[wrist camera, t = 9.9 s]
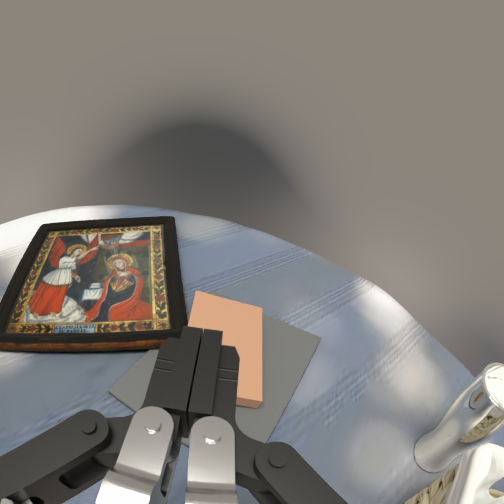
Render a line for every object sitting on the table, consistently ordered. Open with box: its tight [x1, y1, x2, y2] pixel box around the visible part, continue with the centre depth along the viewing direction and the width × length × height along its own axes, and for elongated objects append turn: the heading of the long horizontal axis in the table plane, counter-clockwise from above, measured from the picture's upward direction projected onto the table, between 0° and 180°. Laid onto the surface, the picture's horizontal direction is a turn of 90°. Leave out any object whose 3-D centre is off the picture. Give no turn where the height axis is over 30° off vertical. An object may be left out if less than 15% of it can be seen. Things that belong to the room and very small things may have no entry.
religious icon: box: [0, 216, 188, 351], centre depth 50 cm, size 38×35×3 cm
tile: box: [187, 290, 262, 408], centre depth 40 cm, size 2×10×16 cm
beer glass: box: [414, 363, 504, 473], centre depth 25 cm, size 7×7×15 cm
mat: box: [108, 291, 321, 448], centre depth 39 cm, size 19×24×1 cm
